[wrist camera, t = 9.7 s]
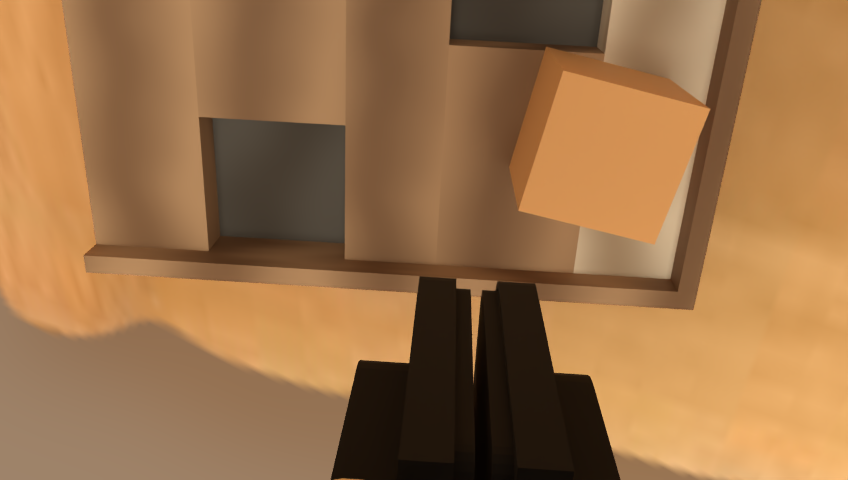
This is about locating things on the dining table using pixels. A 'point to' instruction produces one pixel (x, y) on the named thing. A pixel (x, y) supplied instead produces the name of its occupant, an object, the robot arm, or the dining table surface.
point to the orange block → (604, 145)
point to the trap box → (378, 140)
